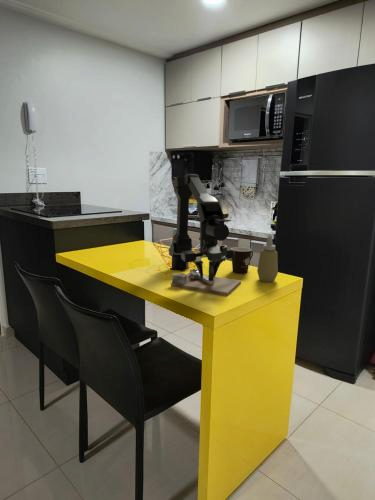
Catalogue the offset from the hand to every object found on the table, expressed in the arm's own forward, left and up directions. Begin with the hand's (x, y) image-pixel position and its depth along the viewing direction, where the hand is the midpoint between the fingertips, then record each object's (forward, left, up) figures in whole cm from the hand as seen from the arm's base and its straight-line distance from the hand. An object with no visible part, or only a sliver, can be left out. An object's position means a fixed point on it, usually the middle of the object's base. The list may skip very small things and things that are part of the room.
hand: (207, 277), depth 124 cm
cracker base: (-2, +3, -4) cm, 5 cm away
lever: (-5, +4, -2) cm, 7 cm away
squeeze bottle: (+17, +20, -4) cm, 27 cm away
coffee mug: (+5, +28, -4) cm, 29 cm away
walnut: (-10, 0, -3) cm, 10 cm away
